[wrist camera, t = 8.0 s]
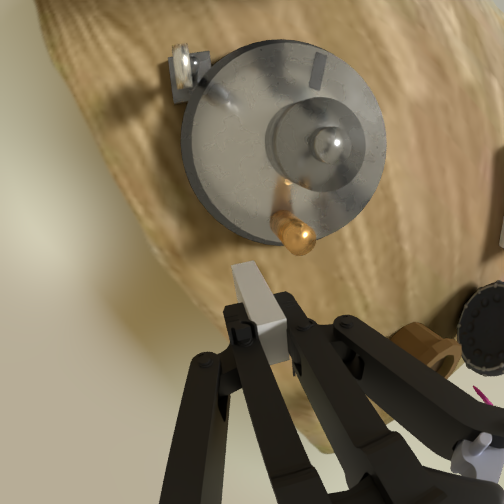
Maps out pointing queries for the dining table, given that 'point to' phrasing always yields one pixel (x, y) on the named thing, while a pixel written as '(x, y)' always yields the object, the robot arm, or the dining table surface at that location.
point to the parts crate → (502, 236)
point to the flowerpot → (431, 350)
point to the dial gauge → (186, 71)
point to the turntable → (253, 143)
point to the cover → (316, 144)
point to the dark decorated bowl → (483, 330)
